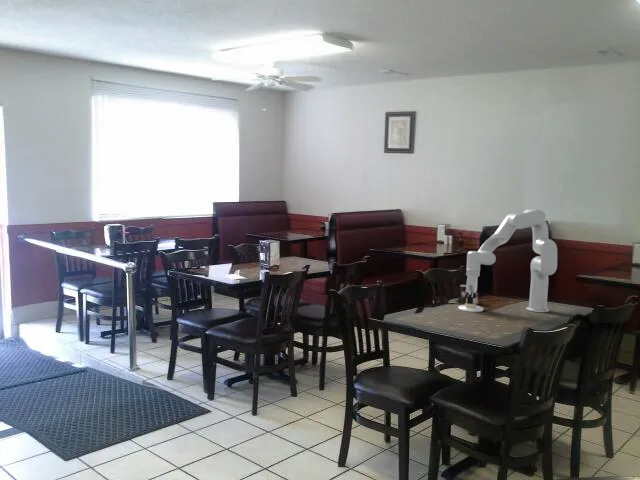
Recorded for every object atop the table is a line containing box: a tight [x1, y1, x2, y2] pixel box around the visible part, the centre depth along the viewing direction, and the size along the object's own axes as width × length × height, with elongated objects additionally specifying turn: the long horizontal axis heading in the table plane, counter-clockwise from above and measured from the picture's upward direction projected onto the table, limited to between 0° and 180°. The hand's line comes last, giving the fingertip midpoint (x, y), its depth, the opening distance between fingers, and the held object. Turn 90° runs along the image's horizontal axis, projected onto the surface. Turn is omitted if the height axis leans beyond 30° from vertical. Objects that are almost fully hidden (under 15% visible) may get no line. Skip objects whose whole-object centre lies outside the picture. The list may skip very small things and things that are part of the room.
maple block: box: [465, 298, 477, 309], centre depth 334 cm, size 5×5×5 cm
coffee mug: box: [459, 284, 480, 304], centre depth 354 cm, size 12×9×10 cm
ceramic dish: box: [457, 304, 484, 313], centre depth 334 cm, size 14×14×1 cm
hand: (471, 302), depth 334 cm, fingers open, 9 cm apart
